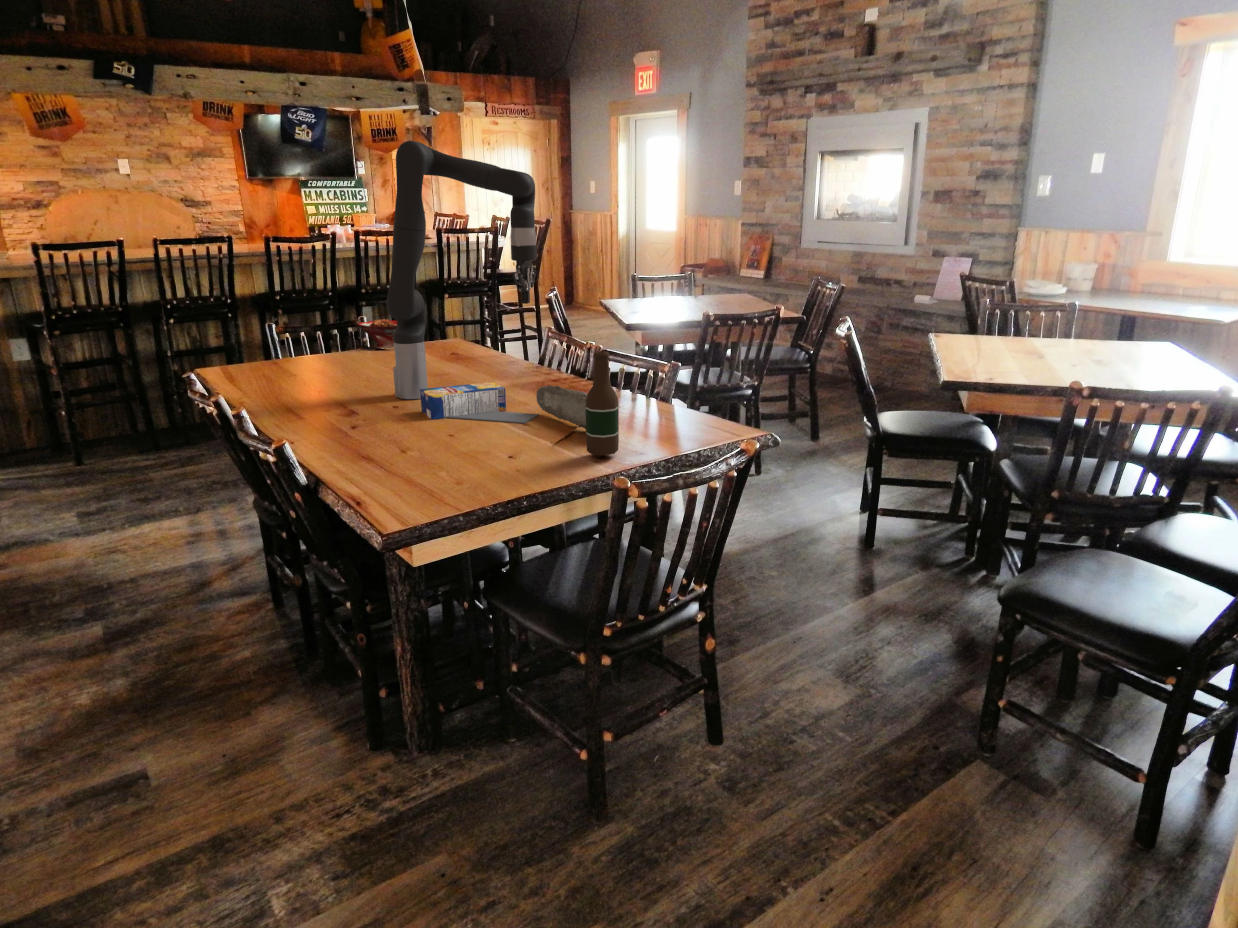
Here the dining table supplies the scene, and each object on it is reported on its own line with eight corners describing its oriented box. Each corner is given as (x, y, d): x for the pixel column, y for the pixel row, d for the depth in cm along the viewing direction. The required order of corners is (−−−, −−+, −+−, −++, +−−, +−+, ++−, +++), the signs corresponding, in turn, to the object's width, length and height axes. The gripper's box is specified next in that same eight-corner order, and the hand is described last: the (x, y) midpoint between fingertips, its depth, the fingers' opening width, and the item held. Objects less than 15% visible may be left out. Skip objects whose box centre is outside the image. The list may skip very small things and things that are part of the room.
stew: (434, 348, 354) (431, 310, 349) (410, 357, 332) (407, 317, 327) (374, 346, 359) (371, 309, 355) (346, 355, 337) (342, 316, 332)
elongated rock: (530, 414, 235) (529, 380, 232) (546, 412, 238) (545, 378, 235) (602, 440, 208) (601, 401, 205) (618, 436, 211) (618, 398, 208)
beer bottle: (585, 447, 201) (583, 349, 194) (617, 446, 202) (616, 348, 195) (587, 456, 194) (585, 354, 187) (620, 455, 195) (619, 354, 188)
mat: (445, 418, 231) (445, 416, 231) (462, 410, 240) (462, 408, 240) (524, 423, 224) (524, 422, 224) (538, 415, 234) (538, 414, 233)
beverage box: (506, 411, 239) (431, 420, 229) (494, 404, 248) (421, 412, 239) (505, 388, 237) (429, 396, 227) (493, 382, 246) (419, 389, 237)
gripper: (520, 243, 250) (523, 301, 255) (502, 244, 238) (505, 305, 243) (543, 243, 248) (545, 301, 253) (526, 244, 236) (528, 306, 241)
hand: (525, 303), depth 248 cm, fingers closed
